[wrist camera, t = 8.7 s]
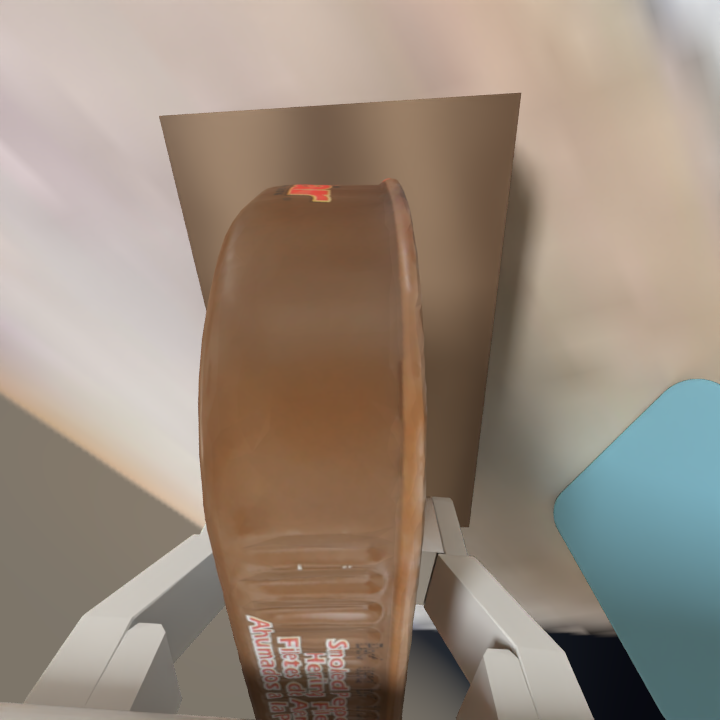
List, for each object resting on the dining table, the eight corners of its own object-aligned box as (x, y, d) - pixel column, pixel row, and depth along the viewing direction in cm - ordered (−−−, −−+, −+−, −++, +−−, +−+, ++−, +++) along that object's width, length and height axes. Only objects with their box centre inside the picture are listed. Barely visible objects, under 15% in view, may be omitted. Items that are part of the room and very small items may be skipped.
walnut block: (484, 117, 15) (521, 92, 11) (453, 475, 23) (468, 527, 20) (208, 134, 15) (158, 115, 12) (276, 479, 24) (259, 529, 20)
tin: (370, 549, 16) (411, 858, 9) (301, 554, 16) (280, 879, 8) (380, 187, 10) (562, 144, 2) (267, 186, 10) (56, 132, 2)
